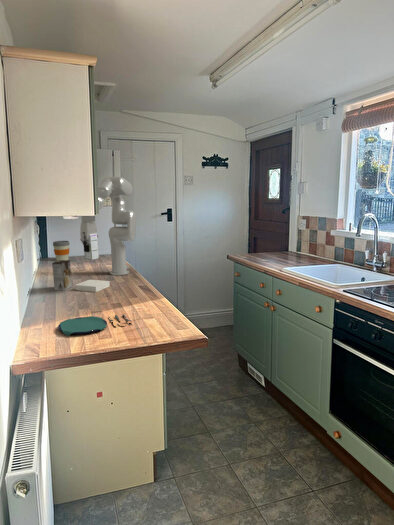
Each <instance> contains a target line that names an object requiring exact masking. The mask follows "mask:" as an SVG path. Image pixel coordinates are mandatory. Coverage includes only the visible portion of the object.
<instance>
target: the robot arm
mask: <svg viewBox="0 0 394 525" xmlns="http://www.w3.org/2000/svg"><path fill="white" fill-rule="evenodd" d="M97 187H98V200H99V210H101V209H103V207H104V206H105V199H107V198H109V199H110V201H111V222H112V224H114V225H119V226H112V227H110V228H109V230H108V238H109V242H110V243H109V244H110V254H111V256H110V257H111V271H110V272H109V274H110V275H111V276H123V275H127V274H129V273H130V271H129V270H127V269H129V268H130V266H129V265H127V254H126V253H127V252H126V246H125V244H124V242H132V241H134V240H135V238H136V228H137V216H136V213H135V211H134V210H131V209H128V210H127V209H126V202H125V200H124V199H123V197H129V196H132V194H133V190H134V189H133V186H132V184H131V182H130V181H128V180H127V179H125V178H124V177H121V176H107V177H105V178H104V179H103V180H102V181H100V183H99V184H98V185H97ZM80 218H81V222H80V231H79V232H80V233H79V234H80V236H79V237H80V242H81V243H82V246H83V253H84V252H89V245H88V240H89V235H90V234H93V233H96V234H97V239H98V238H99V235H98V231H97V225H96V224H97V222H96V215H95V216H81V217H80ZM120 225H122V226H120ZM123 225H124V226H123ZM86 241H87V242H86Z"/></svg>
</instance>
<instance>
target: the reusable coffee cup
mask: <svg viewBox="0 0 394 525" xmlns="http://www.w3.org/2000/svg"><path fill="white" fill-rule="evenodd" d="M52 246H53V253H54V255H55V259H56V262H57V261H59V260H69V255H70V241H69V240H55V241H53V242H52Z"/></svg>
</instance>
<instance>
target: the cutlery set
mask: <svg viewBox="0 0 394 525" xmlns="http://www.w3.org/2000/svg"><path fill="white" fill-rule="evenodd" d="M122 315H123V316H124V317H125V318H127V316H126V315H125V314H122ZM123 316H122V317H123ZM108 317H109V318H110V319H111V317H110V316H108ZM114 317H115V318H116V320H117V321H118V320H120V318H119V316H118V314H117V315H114ZM124 317H123V318H124ZM109 318H108V319H109ZM125 318H124V319H125ZM110 319H109V321H110V322H111V321H114V320H113V319H111V320H110ZM126 320H127V321H131V322H132V320H130V319H129V318H127V319H126ZM126 320H125V321H126ZM107 325H108V321H107V320H105V319H104V318H103V317H100V316H93V315H89V316H81V317H75V318H74V317H73V318H68V319H65V320H63V321H61V322H60V323H59V324H58V326H57V329H58V330H59V331H61V332H62V333H63V335H65V336H66V335H67V336H66V337H70V335H71V334H74V335H75V334H76V335H77V334H78V335H80V334H81V335H82V334H88V333H94V332H97V331H103V330H105V329H106V328H107ZM104 328H105V329H104ZM102 329H103V330H102ZM92 330H93V331H92Z"/></svg>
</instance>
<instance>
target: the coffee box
mask: <svg viewBox="0 0 394 525" xmlns="http://www.w3.org/2000/svg"><path fill="white" fill-rule="evenodd" d="M51 267H52V276H53V287H54V288H53V289H54V291H63V290H64V291H66V290H68V289H70V288H72V287H73V285H72V284H73V283H72V273H71V272H72V271H71V261H70V259H68V260H59V261H57V260H56V261H54V262H52V266H51Z"/></svg>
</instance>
